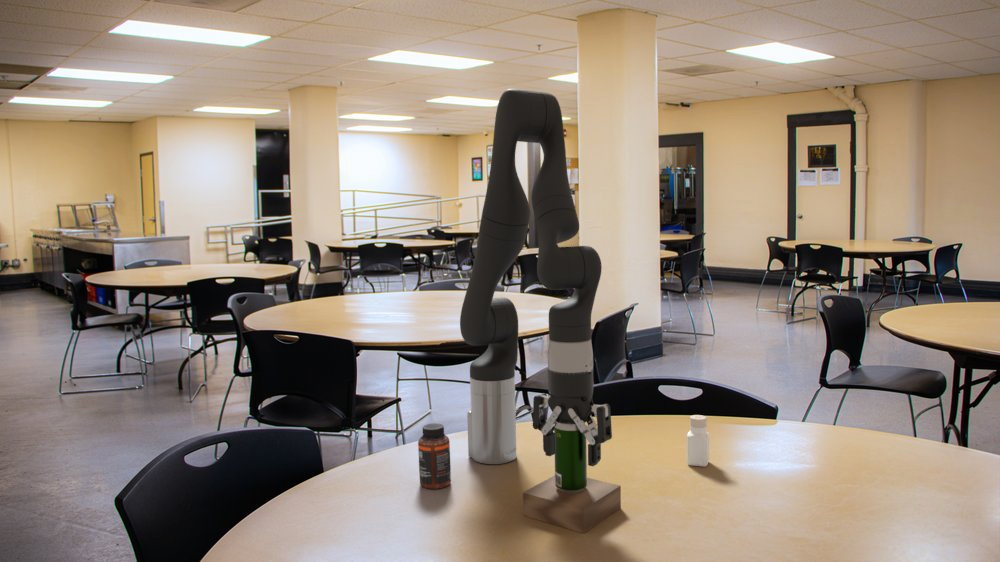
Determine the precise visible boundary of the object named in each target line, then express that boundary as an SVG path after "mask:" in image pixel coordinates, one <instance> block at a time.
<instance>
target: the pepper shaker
mask: <svg viewBox="0 0 1000 562" xmlns="http://www.w3.org/2000/svg"><path fill="white" fill-rule="evenodd" d="M707 421H708V419H707V417H706V416H705V415H701V414H693V415H690V416H689V427H690V430H689V431H688V432H687V434H686V463H687V465H688V466H695V467H703V468H705V467H707V466H708V464H709V461H710V433H709V432H707V427H708V426H707V424H708V423H707Z"/></svg>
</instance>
